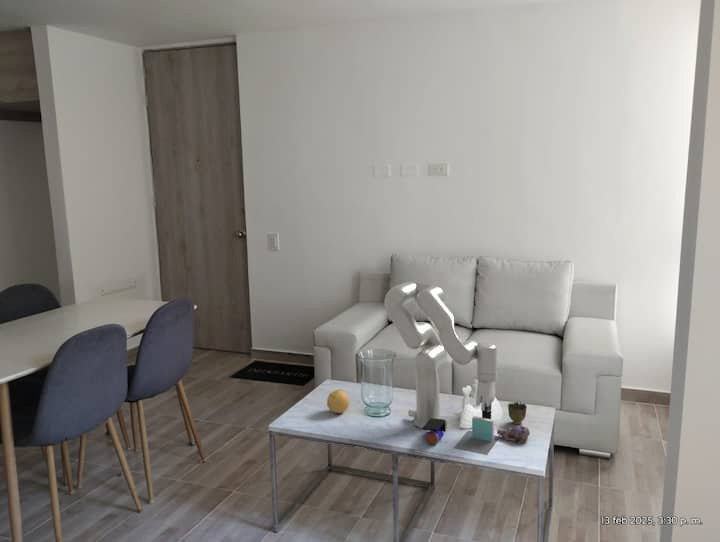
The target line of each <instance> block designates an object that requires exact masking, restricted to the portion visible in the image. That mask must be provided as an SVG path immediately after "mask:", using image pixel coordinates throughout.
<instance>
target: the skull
mask: <svg viewBox="0 0 720 542" xmlns="http://www.w3.org/2000/svg"><path fill="white" fill-rule="evenodd" d="M496 433H497V435H498V436H500V437H501V439H503V440H506V441H515V443H517V444H521V443H525V442H527V441H528V440H529V436H530V435H531V433H530V429H529V427H526V426H523V425H515V426H512V427H509V428H499V429H497V431H496Z"/></svg>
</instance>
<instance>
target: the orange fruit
mask: <svg viewBox="0 0 720 542" xmlns="http://www.w3.org/2000/svg"><path fill="white" fill-rule="evenodd" d="M350 403H351V401H350V397H349V395H348V394H347V392H346V391H344V390H342V389H336V390H333V391H332V392H330V393H329V395H328V397H327V400H326V405H327V408H328V410H329V411H330V412H332V413H335V414H341V413H344V412H346V410H348V408H349V406H350Z"/></svg>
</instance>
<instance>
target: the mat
mask: <svg viewBox="0 0 720 542" xmlns="http://www.w3.org/2000/svg"><path fill="white" fill-rule="evenodd" d="M500 438H501V436H499V435H495V434H494V440H493V441H487V440H482V439H477V438H472V430H467V432H465V434H463V436H462V437H461V438H460V440H459V441H457V443H456V444H455V445H454V447H453V449H456V450H461V451H465V452H470V453H475V454H479V455H480V454H481V455H485V456H488V454H489V453H490V452H491V450H492V449H493V448H494V446H495V445H496V443H497V442H498V441H499V440H500Z"/></svg>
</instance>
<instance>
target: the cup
mask: <svg viewBox="0 0 720 542" xmlns="http://www.w3.org/2000/svg"><path fill="white" fill-rule="evenodd" d="M507 409H508V416H509V418H510V420H511V421H512V424H514V425H515V426H521V424H522V423H523V422H522V421H524V420H525V418H526V416H527V414H526V413H527V405H526V404H525V403H522V402H519V401H517V402H511V403H508V404H507Z"/></svg>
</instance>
